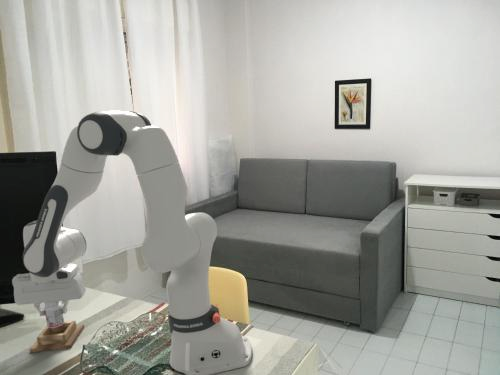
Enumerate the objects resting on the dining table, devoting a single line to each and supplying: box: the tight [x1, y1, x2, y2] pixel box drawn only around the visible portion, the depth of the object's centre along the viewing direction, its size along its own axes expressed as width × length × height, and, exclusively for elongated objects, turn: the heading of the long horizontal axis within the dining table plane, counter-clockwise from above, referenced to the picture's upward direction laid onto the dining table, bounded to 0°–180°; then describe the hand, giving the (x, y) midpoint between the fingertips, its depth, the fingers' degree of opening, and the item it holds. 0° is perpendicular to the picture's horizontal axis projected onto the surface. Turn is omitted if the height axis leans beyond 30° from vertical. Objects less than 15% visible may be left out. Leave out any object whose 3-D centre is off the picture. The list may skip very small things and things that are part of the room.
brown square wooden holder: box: [29, 320, 85, 353], centre depth 130 cm, size 12×12×4 cm
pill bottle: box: [43, 301, 65, 328], centre depth 128 cm, size 5×5×8 cm
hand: (53, 313), depth 128 cm, fingers closed on pill bottle, 5 cm apart
